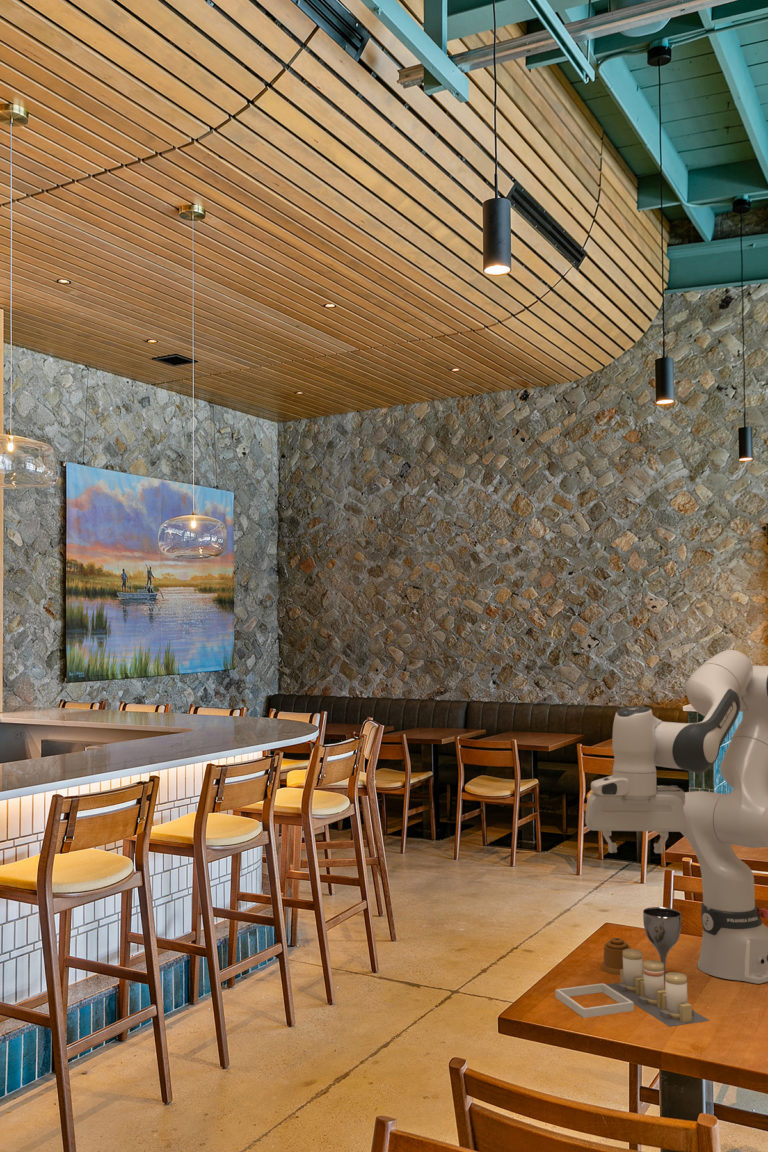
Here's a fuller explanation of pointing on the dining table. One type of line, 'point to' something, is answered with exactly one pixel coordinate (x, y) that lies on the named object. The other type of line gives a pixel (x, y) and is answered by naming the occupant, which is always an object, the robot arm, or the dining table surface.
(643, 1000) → the fuse block
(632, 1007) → the tray
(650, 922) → the wine glass
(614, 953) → the ornamental finial
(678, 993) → the fuse
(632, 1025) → the dining table surface
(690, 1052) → the dining table surface
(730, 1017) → the dining table surface
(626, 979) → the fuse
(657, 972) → the marked fuse
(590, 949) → the dining table surface
